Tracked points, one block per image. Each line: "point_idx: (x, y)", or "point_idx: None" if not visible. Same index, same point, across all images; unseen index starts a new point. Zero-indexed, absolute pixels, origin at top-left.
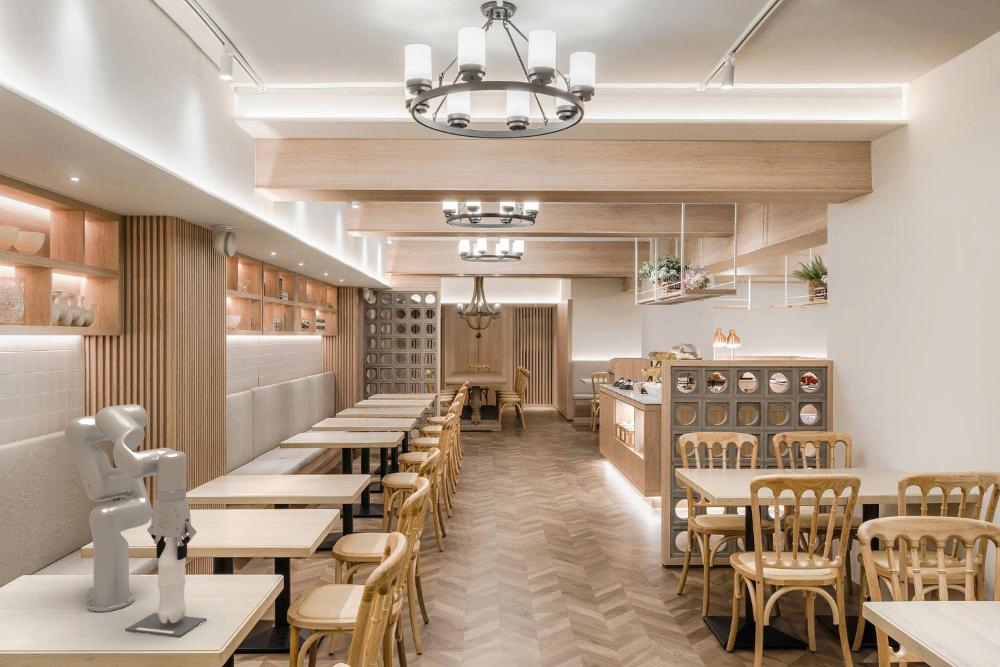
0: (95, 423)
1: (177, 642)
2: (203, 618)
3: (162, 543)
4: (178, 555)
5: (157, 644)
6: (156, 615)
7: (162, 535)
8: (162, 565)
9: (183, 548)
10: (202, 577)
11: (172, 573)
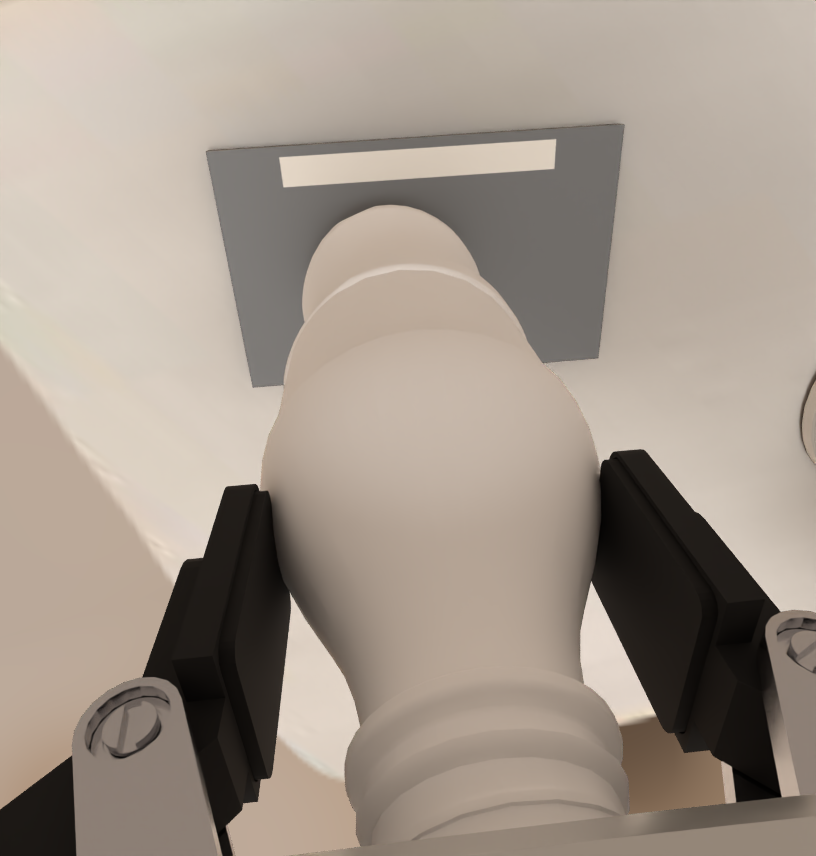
0: None
1: (160, 80)
2: (267, 382)
3: (685, 674)
4: (226, 524)
5: (263, 9)
6: (561, 336)
7: (654, 844)
8: (433, 338)
9: (153, 660)
10: (633, 699)
11: (312, 350)
